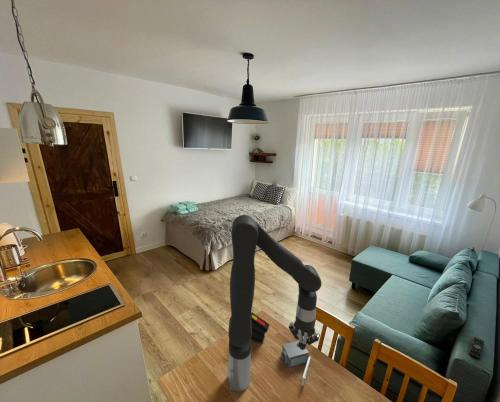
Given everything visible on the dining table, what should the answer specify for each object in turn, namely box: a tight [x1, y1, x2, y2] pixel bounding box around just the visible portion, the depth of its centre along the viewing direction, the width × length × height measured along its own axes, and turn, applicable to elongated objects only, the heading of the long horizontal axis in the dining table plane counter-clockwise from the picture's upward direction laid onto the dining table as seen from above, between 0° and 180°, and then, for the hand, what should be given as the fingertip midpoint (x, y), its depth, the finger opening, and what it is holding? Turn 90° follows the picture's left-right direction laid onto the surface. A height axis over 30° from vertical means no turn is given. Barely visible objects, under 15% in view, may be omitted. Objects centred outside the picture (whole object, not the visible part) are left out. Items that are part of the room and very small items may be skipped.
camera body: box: [280, 340, 309, 368], centre depth 106 cm, size 12×7×7 cm, turn 106°
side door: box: [301, 354, 312, 386], centre depth 100 cm, size 12×1×5 cm, turn 151°
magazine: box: [251, 311, 270, 345], centre depth 116 cm, size 4×13×15 cm, turn 70°
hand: (302, 348), depth 93 cm, fingers closed
